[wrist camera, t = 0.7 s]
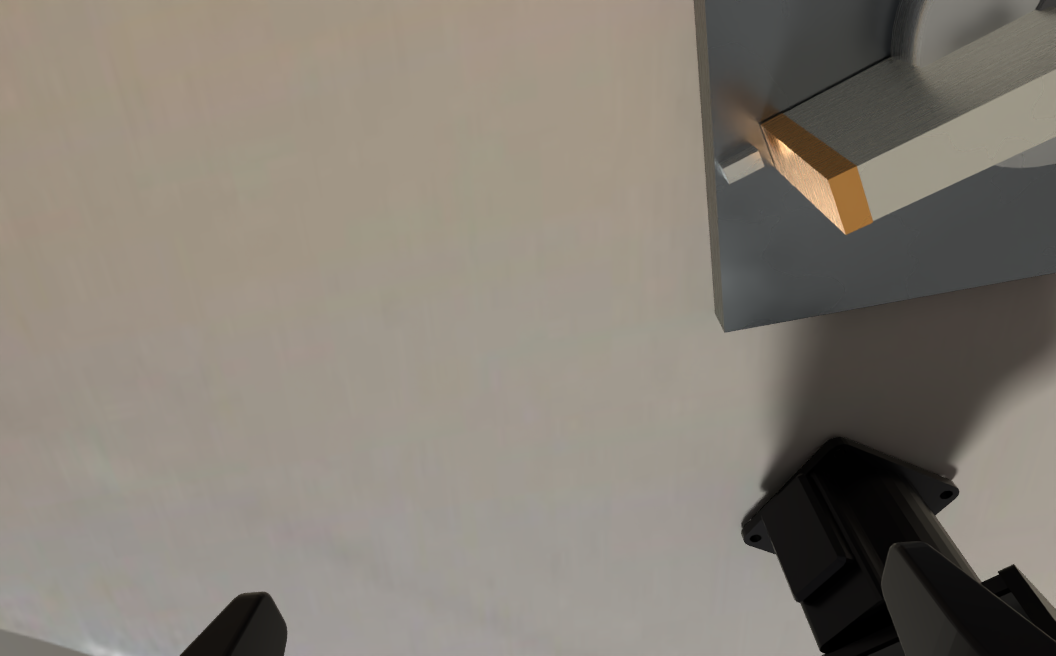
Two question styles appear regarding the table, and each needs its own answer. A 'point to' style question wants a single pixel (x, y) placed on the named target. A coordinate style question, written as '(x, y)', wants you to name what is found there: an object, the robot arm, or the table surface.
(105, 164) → the table surface
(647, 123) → the table surface
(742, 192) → the panel
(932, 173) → the dial
